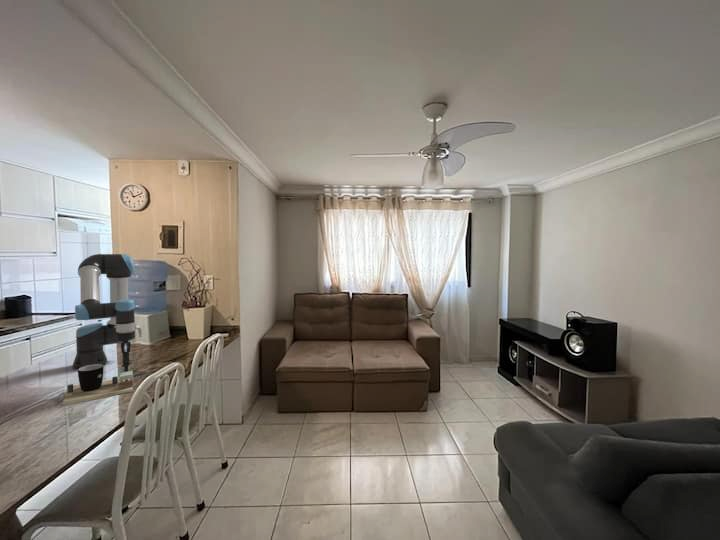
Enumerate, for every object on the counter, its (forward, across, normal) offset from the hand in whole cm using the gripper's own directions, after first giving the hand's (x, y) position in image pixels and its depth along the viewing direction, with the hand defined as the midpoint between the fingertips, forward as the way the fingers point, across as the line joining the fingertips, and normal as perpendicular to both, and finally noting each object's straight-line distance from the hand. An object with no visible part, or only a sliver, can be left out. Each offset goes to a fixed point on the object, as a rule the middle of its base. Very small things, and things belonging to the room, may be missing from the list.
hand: (126, 378), depth 154 cm
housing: (+1, +6, 0) cm, 6 cm away
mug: (+1, +1, -13) cm, 13 cm away
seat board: (+3, +3, -10) cm, 10 cm away
